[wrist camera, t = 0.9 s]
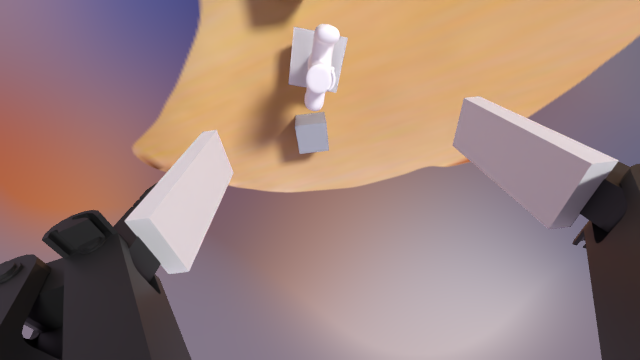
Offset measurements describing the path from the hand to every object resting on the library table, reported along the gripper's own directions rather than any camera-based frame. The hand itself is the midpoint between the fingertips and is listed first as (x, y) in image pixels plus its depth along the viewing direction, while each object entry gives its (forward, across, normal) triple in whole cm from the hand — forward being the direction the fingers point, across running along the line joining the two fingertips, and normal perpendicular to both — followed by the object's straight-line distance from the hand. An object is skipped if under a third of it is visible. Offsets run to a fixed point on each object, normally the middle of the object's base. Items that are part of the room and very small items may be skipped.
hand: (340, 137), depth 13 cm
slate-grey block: (+28, -2, -11) cm, 30 cm away
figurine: (+28, 0, 0) cm, 29 cm away
